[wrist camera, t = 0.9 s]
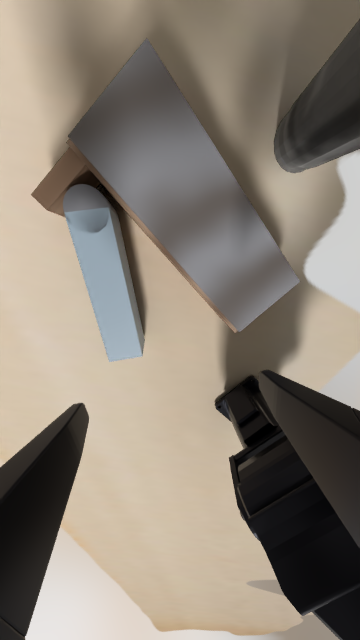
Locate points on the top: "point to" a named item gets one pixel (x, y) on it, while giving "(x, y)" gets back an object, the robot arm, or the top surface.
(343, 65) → the beverage cup
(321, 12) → the top surface
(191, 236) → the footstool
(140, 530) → the top surface
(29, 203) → the top surface
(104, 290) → the bar
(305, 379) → the top surface
